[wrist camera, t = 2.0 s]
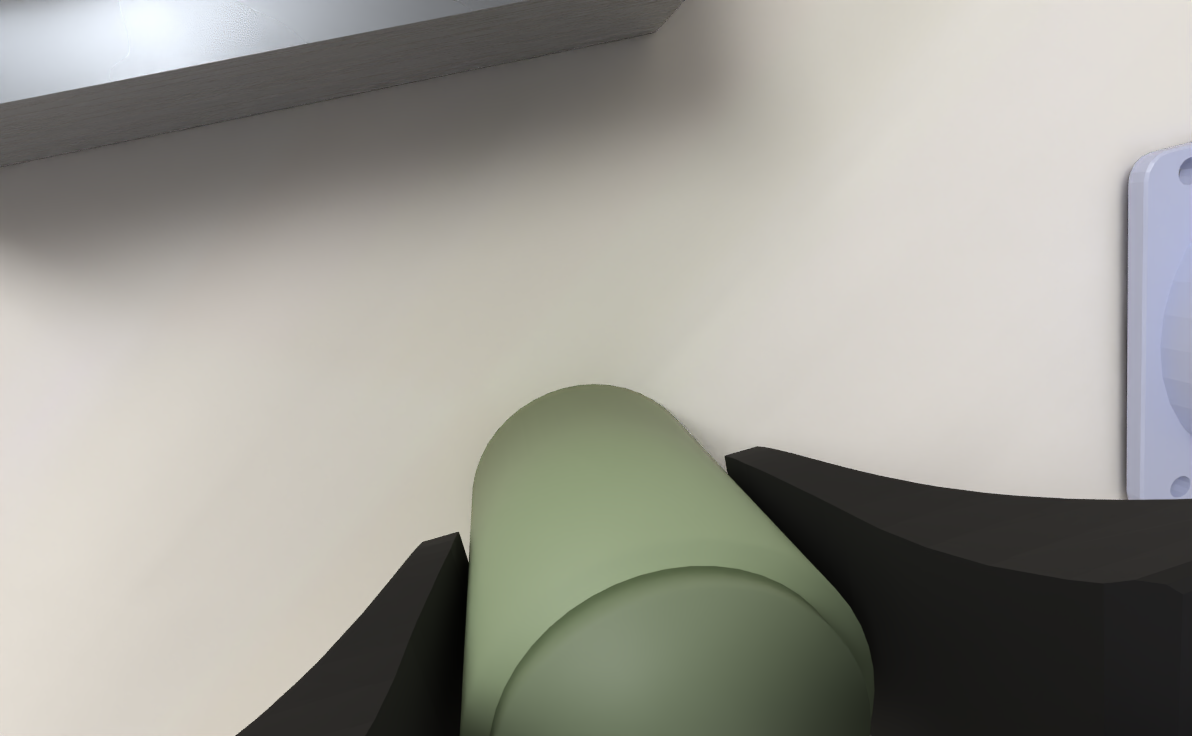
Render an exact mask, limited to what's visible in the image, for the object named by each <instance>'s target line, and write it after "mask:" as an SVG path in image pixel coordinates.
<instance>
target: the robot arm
mask: <svg viewBox="0 0 1192 736" xmlns="http://www.w3.org/2000/svg"><path fill="white" fill-rule="evenodd" d="M1179 169H1180V173H1179ZM725 461H726V467H727V472H728V475H729V476H730V477H731V478H732V479H733V480H734V481H735V482H736V484H737V485H738V486H739V487H740V488H741V489H742V490H743V491H744V492H745V493H746V494H747V495H748V496H749V497H750V498H751V500H752V501H753V502H754V503H755V504H756V505H757V506H758V507H759V508H760V509H761V510H762V511H763V512H764V513H765V514H766V515H767V517H768V518H769V519H770V520H771V521H772V522H773V523H774V524H775V525H776V526H777V527H778V528H779V529H780V530H781V531H782V532H783V534H784V535H785V536H786V537H787V538H788V539H789V540H790V541H791V542H792V543H793V544H794V545H795V546H796V547H797V548H798V549H799V551H800V552H801V553H802V554H803V555H804V556H805V557H806V558H807V559H808V560H809V561H810V562H811V563H812V564H813V565H814V567H815V568H816V569H817V570H818V571H819V572H820V573H821V574H822V575H823V576H824V577H825V578H826V579H827V580H828V581H829V582H830V584H831V585H832V586H833V587H834V588H835V589H836V590H837V591H838V592H839V594H840V595H841V596H842V597H843V599H844V600H845V601H846V602H847V604H848V605H849V606H850V607H851V609H852V611H853V613H854V614H855V616H856V618H857V620H858V621H859V623H860V625H861V627H862V629H863V632H864V635H865V638H866V640H867V643H868V646H869V649H870V654H871V659H872V664H873V670H874V690H875V691H874V702H873V713H872V717H871V729H870V736H1192V142H1189V143H1185V144H1181V145H1177V146H1173V147H1169V148H1165V149H1161V150H1157V151H1153V152H1150V153H1148V154H1146V155H1144V156H1142V157H1141V158H1140V159H1139V160H1138V161H1137V162H1136V163H1135V165H1134V166H1133V168H1132V170H1131V172H1130V176H1129V182H1128V326H1127V496H1128V500H1095V499H1063V498H1045V497H1028V496H1013V495H1001V494H991V493H982V492H974V491H966V490H959V489H951V488H943V487H936V486H930V485H924V484H919V483H913V482H908V481H903V480H898V479H894V478H889V477H884V476H879V475H875V474H870V473H866V472H862V471H857V470H853V469H849V468H845V467H841V466H838V465H834V464H830V463H826V462H822V461H819V460H815V459H811V458H807V457H804V456H800V455H796V454H792V453H788V452H784V451H780V450H776V449H771V448H766V447H758V446H757V447H754V448H750V449H747V450H743V451H740V452H736V453H733V454H729V455H726V456H725ZM468 569H469V562H468V559H467V556H466V553H465V550H464V546H463V543H462V540H461V537H460V534H459V532H456V533H453V534H449V535H445V536H442V537H438V538H435V539H431V540H428V541H424V542H422V543H421V544H420V545H419V546H418V547H417V548H416V549H415V550H414V552H413V553H412V554H411V555H410V556H409V558H408V559H407V560H406V561H405V562H404V564H403V565H402V566H401V567H400V569H399V570H398V571H397V572H396V574H395V575H394V576H393V577H392V579H391V580H390V581H389V582H388V583H387V585H386V586H385V587H384V588H383V589H382V591H381V592H380V593H379V594H378V596H377V597H376V598H375V599H374V600H373V602H372V603H371V604H370V605H369V606H368V608H367V609H366V610H365V611H364V612H363V613H362V615H361V616H360V617H359V618H358V619H357V620H356V621H355V622H354V623H353V624H352V625H351V627H350V628H349V629H348V630H347V631H346V632H345V633H344V634H343V635H342V636H341V638H340V639H339V640H338V641H337V642H336V643H335V644H334V645H333V646H332V647H331V648H330V650H329V651H328V652H327V653H326V654H325V655H324V656H323V657H322V658H321V659H320V660H319V661H318V662H317V663H316V664H315V665H314V666H313V667H312V668H311V669H310V670H309V671H308V672H307V673H306V674H305V675H304V676H303V677H302V678H301V679H300V680H299V681H298V682H297V683H296V684H295V685H294V686H292V687H291V688H290V689H289V690H288V691H287V692H286V693H285V694H284V695H283V696H282V697H280V698H279V699H278V700H277V701H276V702H275V703H274V704H273V705H272V706H271V707H269V708H268V709H267V710H266V711H265V712H264V713H263V714H261V715H260V716H259V717H258V718H257V719H256V720H255V721H253V722H252V723H251V724H250V725H248V726H247V727H246V728H245V729H243V730H242V731H241V732H240V733H238V734H237V735H236V736H460V721H461V702H462V683H463V664H464V645H465V626H466V607H467V588H468Z"/></svg>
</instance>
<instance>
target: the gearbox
mask: <svg viewBox="0 0 1192 736" xmlns="http://www.w3.org/2000/svg"><path fill="white" fill-rule="evenodd" d="M684 1H685V0H0V167H3V166H8V165H12V164H17V163H22V162H27V161H32V160H37V159H42V158H47V157H51V156H56V155H61V154H66V153H71V152H76V151H81V150H85V149H90V148H95V147H100V146H105V145H110V144H115V143H119V142H124V141H129V140H134V139H139V138H144V137H149V136H153V135H158V134H163V133H168V132H173V131H178V130H183V129H187V128H192V127H197V126H202V125H207V124H212V123H217V122H222V121H226V120H231V119H236V118H241V117H246V116H251V115H256V114H260V113H265V112H270V111H275V110H280V109H285V108H290V107H294V106H299V105H304V104H309V103H314V102H319V101H324V100H328V99H333V98H338V97H343V96H348V95H353V94H358V93H363V92H367V91H372V90H377V89H382V88H387V87H392V86H397V85H401V84H406V83H411V82H416V81H421V80H426V79H431V78H435V77H440V76H445V75H450V74H455V73H460V72H465V71H469V70H474V69H479V68H484V67H489V66H494V65H499V64H503V63H508V62H513V61H518V60H523V59H528V58H533V57H538V56H542V55H547V54H552V53H557V52H562V51H567V50H572V49H576V48H581V47H586V46H591V45H596V44H601V43H606V42H610V41H615V40H620V39H625V38H630V37H635V36H640V35H644V34H649V33H654V32H656V31H657V30H658V29H659V28H660V27H661V26H662V25H663V24H664V23H665V22H666V20H667V19H668V18H669V17H670V16H671V15H672V14H673V13H674V12H675V10H676V9H677V8H678V7H679V6H680V5H681V4H682V3H683V2H684Z"/></svg>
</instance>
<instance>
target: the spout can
mask: <svg viewBox="0 0 1192 736" xmlns="http://www.w3.org/2000/svg"><path fill="white" fill-rule="evenodd" d="M874 691H875V690H874V670H873V664H872V659H871V654H870V649H869V646H868V643H867V640H866V638H865V635H864V632H863V629H862V627H861V625H860V623H859V621H858V620H857V618H856V616H855V614H854V613H853V611H852V609H851V607H850V606H849V605H848V604H847V602H846V601H845V600H844V599H843V597H842V596H841V595H840V594H839V592H838V591H837V590H836V589H835V588H834V587H833V586H832V585H831V584H830V582H829V581H828V580H827V579H826V578H825V577H824V576H823V575H822V574H821V573H820V572H819V571H818V570H817V569H816V568H815V567H814V565H813V564H812V563H811V562H810V561H809V560H808V559H807V558H806V557H805V556H804V555H803V554H802V553H801V552H800V551H799V549H798V548H797V547H796V546H795V545H794V544H793V543H792V542H791V541H790V540H789V539H788V538H787V537H786V536H785V535H784V534H783V532H782V531H781V530H780V529H779V528H778V527H777V526H776V525H775V524H774V523H773V522H772V521H771V520H770V519H769V518H768V517H767V515H766V514H765V513H764V512H763V511H762V510H761V509H760V508H759V507H758V506H757V505H756V504H755V503H754V502H753V501H752V500H751V498H750V497H749V496H748V495H747V494H746V493H745V492H744V491H743V490H742V489H741V488H740V487H739V486H738V485H737V484H736V482H735V481H734V480H733V479H732V478H731V477H730V476H729V475H728V474H727V473H726V472H725V471H724V470H723V469H722V468H721V467H720V465H719V464H718V463H717V462H716V461H715V460H714V459H713V458H712V457H711V456H710V455H709V454H708V453H707V452H706V451H705V450H704V448H703V447H702V446H701V445H700V444H699V443H698V442H697V441H696V440H695V439H694V438H693V437H692V436H691V435H690V434H689V433H688V431H687V430H686V429H685V428H684V427H683V426H682V425H681V424H680V423H679V422H678V421H677V420H676V419H675V418H674V417H673V416H672V415H671V414H670V413H669V412H668V411H667V410H666V409H665V408H664V407H662V406H661V405H659V404H658V403H656V402H655V401H653V400H652V399H650V398H648V397H646V396H644V395H642V394H640V393H637V392H634V391H632V390H629V389H626V388H621V387H616V386H611V385H597V384H591V385H578V386H573V387H568V388H563V389H560V390H557V391H554V392H551V393H548V394H546V395H544V396H542V397H540V398H537V399H535V400H533V401H532V402H530V403H529V404H527V405H526V406H524V407H522V408H521V409H519V410H518V411H517V412H516V413H515V414H514V415H512V416H511V417H510V418H509V419H508V420H507V421H506V422H505V423H504V424H503V425H502V426H501V427H500V428H499V429H498V431H497V432H496V433H495V435H494V436H493V438H492V439H491V440H490V442H489V443H488V445H487V447H486V449H485V451H484V453H483V455H482V456H481V459H480V462H479V465H478V467H477V470H476V474H475V479H474V484H473V494H472V512H471V531H470V550H469V569H468V588H467V607H466V626H465V645H464V664H463V683H462V702H461V721H460V736H870V729H871V717H872V713H873V702H874Z"/></svg>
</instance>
